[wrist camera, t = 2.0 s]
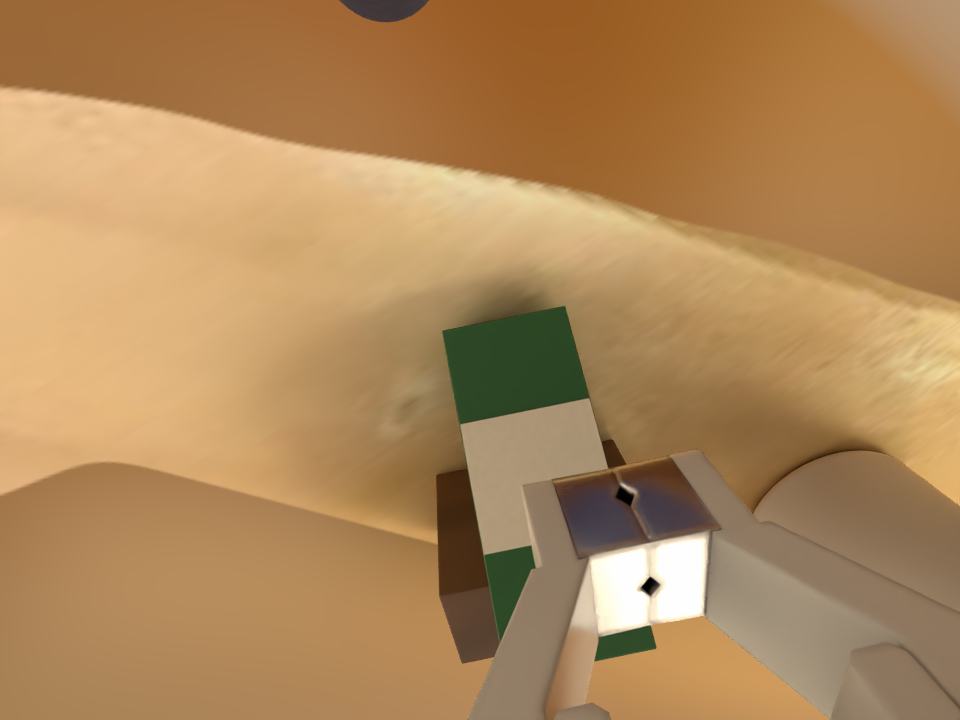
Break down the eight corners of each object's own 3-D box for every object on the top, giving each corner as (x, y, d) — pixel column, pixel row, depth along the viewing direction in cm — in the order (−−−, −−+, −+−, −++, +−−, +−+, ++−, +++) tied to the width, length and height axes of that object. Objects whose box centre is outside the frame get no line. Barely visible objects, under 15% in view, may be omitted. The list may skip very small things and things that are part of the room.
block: (436, 475, 32) (438, 596, 24) (612, 439, 32) (673, 548, 24) (453, 537, 35) (461, 664, 27) (616, 504, 35) (672, 621, 27)
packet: (441, 315, 27) (452, 478, 15) (555, 292, 27) (656, 437, 15) (482, 492, 33) (513, 705, 21) (575, 473, 33) (656, 676, 21)
